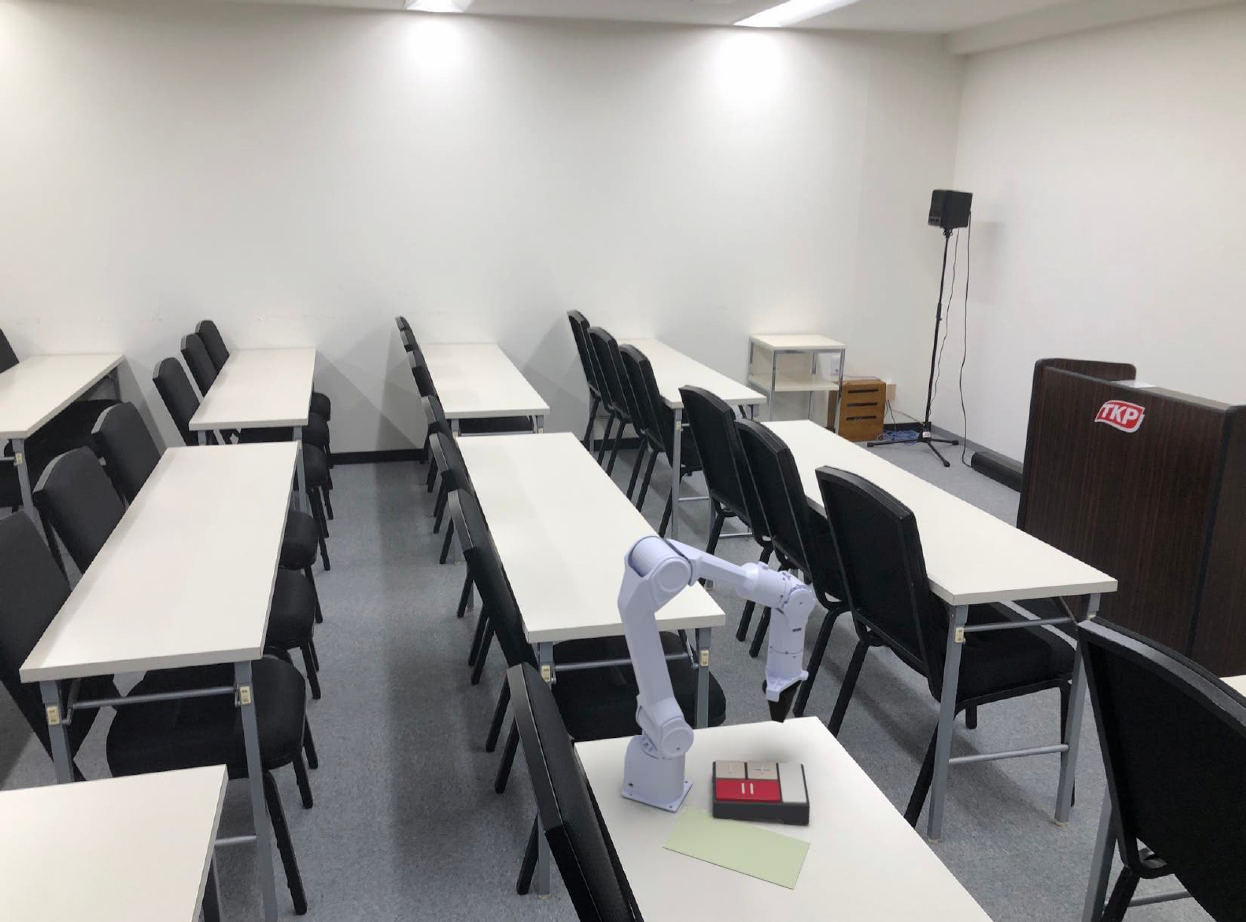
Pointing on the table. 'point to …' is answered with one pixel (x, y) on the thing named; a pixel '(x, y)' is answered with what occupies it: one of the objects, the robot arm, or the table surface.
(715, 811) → the button box
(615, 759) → the table surface
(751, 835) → the mat
